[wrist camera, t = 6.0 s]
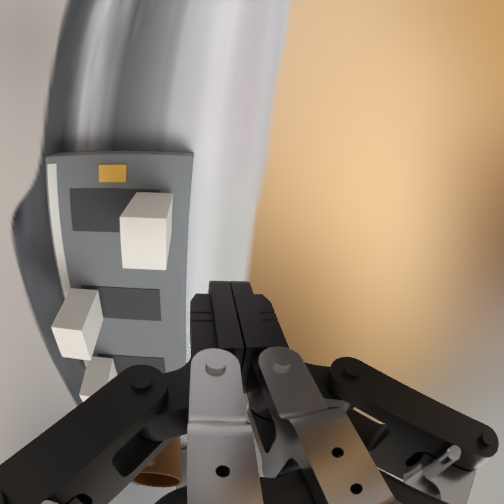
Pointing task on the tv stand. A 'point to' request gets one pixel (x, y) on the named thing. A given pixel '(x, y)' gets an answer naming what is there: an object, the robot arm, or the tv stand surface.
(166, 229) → the block
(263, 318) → the robot arm
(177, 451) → the mug
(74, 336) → the block
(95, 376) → the breaker
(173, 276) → the breaker panel
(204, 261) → the tv stand surface
